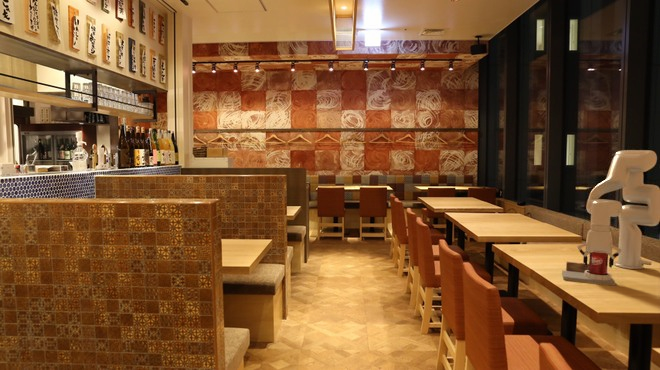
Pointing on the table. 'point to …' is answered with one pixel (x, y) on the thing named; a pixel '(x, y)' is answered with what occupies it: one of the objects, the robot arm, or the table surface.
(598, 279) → the board
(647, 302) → the table surface
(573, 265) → the rail
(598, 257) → the soda can
